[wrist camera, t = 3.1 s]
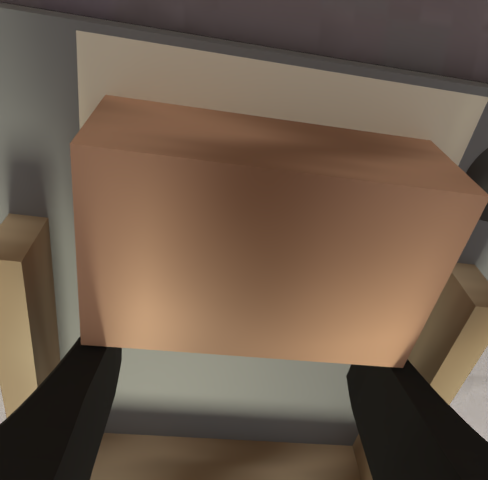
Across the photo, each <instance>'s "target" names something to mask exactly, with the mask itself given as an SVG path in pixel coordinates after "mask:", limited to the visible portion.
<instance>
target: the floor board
mask: <svg viewBox="0 0 488 480" xmlns="http://www.w3.org/2000/svg"><path fill="white" fill-rule="evenodd" d="M105 95H111V96H118V97H125V98H132V99H139V100H147V101H154V102H161V103H168V104H175V105H182V106H189V107H196V108H203V109H211V110H218V111H225V112H232V113H239V114H246V115H253V116H260V117H267V118H275V119H282V120H289V121H296V122H303V123H310V124H317V125H324V126H332V127H339V128H346V129H353V130H360V131H367V132H374V133H381V134H388V135H396V136H403V137H410V138H417V139H424V140H431V141H432V142H433V143H434V144H435V145H436V146H437V147H438V148H439V149H440V150H442V151H443V152H444V153H445V154H446V155H447V156H448V157H449V158H450V159H451V160H452V161H453V162H454V163H455V164H456V165H457V166H459V167H460V168H461V169H462V170H463V171H464V172H465V173H466V174H467V175H468V176H469V177H470V178H471V179H472V180H473V181H474V182H476V183H477V184H478V185H479V186H480V187H481V188H482V189H483V190H484V191H485V192H486V193H487V194H488V83H482V82H476V81H470V80H464V79H458V78H452V77H446V76H440V75H434V74H428V73H422V72H416V71H410V70H404V69H398V68H392V67H386V66H380V65H374V64H368V63H362V62H356V61H350V60H344V59H338V58H332V57H326V56H320V55H314V54H308V53H302V52H296V51H290V50H284V49H278V48H272V47H266V46H260V45H254V44H248V43H242V42H236V41H230V40H224V39H218V38H212V37H206V36H200V35H194V34H188V33H182V32H176V31H170V30H164V29H158V28H152V27H146V26H140V25H134V24H128V23H122V22H116V21H110V20H104V19H98V18H92V17H86V16H80V15H74V14H68V13H62V12H56V11H50V10H44V9H38V8H32V7H26V6H20V5H14V4H8V3H2V2H0V225H1V223H2V222H3V221H4V219H5V218H6V217H7V215H8V214H19V215H28V216H37V217H46V218H48V220H49V232H50V244H51V256H52V268H53V280H54V291H55V303H56V315H57V327H58V339H59V351H60V361H61V360H62V359H63V357H64V356H65V355H66V354H67V352H68V351H69V350H70V349H71V347H72V346H73V345H74V344H75V342H76V341H77V339H78V338H79V337H80V319H79V301H78V283H77V265H76V247H75V229H74V211H73V193H72V174H71V156H70V143H71V141H72V140H73V139H74V137H75V136H76V134H77V133H78V132H79V130H80V129H81V128H82V126H83V125H84V123H85V122H86V121H87V119H88V118H89V116H90V115H91V114H92V112H93V111H94V110H95V108H96V107H97V105H98V104H99V103H100V101H101V100H102V99H103V97H104V96H105ZM457 263H464V264H473V265H476V267H477V268H478V269H479V271H480V272H481V273H482V274H483V276H484V277H485V278H486V279H487V281H488V203H487V204H486V206H485V208H484V210H483V212H482V214H481V216H480V218H479V220H478V222H477V224H476V226H475V228H474V230H473V232H472V234H471V236H470V238H469V240H468V242H467V244H466V246H465V247H464V249H463V251H462V253H461V255H460V257H459V259H458V261H457ZM350 366H351V364H340V363H326V362H312V361H299V360H285V359H271V358H257V357H243V356H229V355H216V354H202V353H188V352H174V351H160V350H146V349H133V348H122V361H121V367H120V372H119V378H118V383H117V388H116V393H115V397H114V401H113V404H112V407H111V411H110V414H109V417H108V421H107V424H106V427H105V431H104V433H116V434H135V435H154V436H173V437H192V438H211V439H231V440H250V441H269V442H288V443H307V444H326V445H345V446H353V444H354V442H355V440H356V438H357V436H358V434H359V433H358V429H357V426H356V422H355V419H354V416H353V412H352V408H351V403H350V397H349V391H348V385H347V378H346V375H347V373H348V371H349V368H350Z"/></svg>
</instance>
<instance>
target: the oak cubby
mask: <svg viewBox="0 0 488 480" xmlns="http://www.w3.org/2000/svg"><path fill="white" fill-rule="evenodd" d="M487 345H488V281H487V279H486V278H485V277H484V276H483V274H482V273H481V272H480V271H479V269H478V268H477V267H476V265H473V264H464V263H456V265H455V267H454V269H453V271H452V273H451V275H450V277H449V279H448V281H447V283H446V285H445V287H444V289H443V291H442V292H441V294H440V296H439V298H438V300H437V302H436V304H435V306H434V308H433V310H432V312H431V314H430V316H429V318H428V320H427V322H426V324H425V326H424V328H423V330H422V332H421V334H420V335H419V337H418V339H417V341H416V343H415V345H414V347H413V349H412V351H411V353H410V355H409V357H408V360H409V361H410V363H411V364H412V365H413V366H414V367H415V368H416V369H417V371H418V372H419V373H420V374H421V375H422V376H423V377H424V379H425V380H426V381H427V382H428V383H429V384H430V385H431V386H432V388H433V389H434V390H435V391H436V392H437V393H438V394H439V395H440V396H441V397H442V398H443V399H444V400H445V401H446V403H447V404H448V405H450V403H451V401H452V400H453V398H454V397H455V395H456V394H457V392H458V391H459V389H460V387H461V386H462V384H463V383H464V381H465V380H466V378H467V377H468V375H469V373H470V372H471V370H472V369H473V367H474V366H475V364H476V363H477V361H478V359H479V358H480V356H481V355H482V353H483V352H484V350H485V349H486V347H487ZM59 362H60V351H59V339H58V327H57V315H56V303H55V291H54V280H53V268H52V256H51V244H50V232H49V220H48V218H46V217H37V216H28V215H19V214H8V215H7V217H6V218H5V219H4V221H3V222H2V223H1V225H0V386H1V391H2V396H3V401H4V406H5V412H6V417H7V418H8V417H9V416H10V415H11V414H12V413H13V412H14V411H15V410H16V409H17V408H18V407H19V406H20V405H21V404H22V403H23V402H24V401H25V400H26V399H27V398H28V397H29V396H30V395H31V394H32V393H33V392H34V391H35V390H36V389H37V387H38V386H39V385H40V384H41V383H42V382H43V381H44V380H45V379H46V377H47V376H48V375H49V374H50V373H51V372H52V371H53V370H54V368H55V367H56V366H57V365H58V364H59ZM90 480H373V479H372V475H371V472H370V469H369V466H368V462H367V459H366V456H365V452H364V449H363V446H362V443H361V439H360V436H359V434H358V436H357V438H356V440H355V442H354V444H353V446H345V445H326V444H307V443H288V442H269V441H250V440H231V439H211V438H192V437H173V436H154V435H135V434H116V433H104V434H103V437H102V441H101V444H100V447H99V450H98V454H97V457H96V460H95V464H94V467H93V470H92V474H91V478H90Z"/></svg>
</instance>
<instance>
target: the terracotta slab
mask: <svg viewBox="0 0 488 480" xmlns="http://www.w3.org/2000/svg"><path fill="white" fill-rule="evenodd" d="M70 156H71V174H72V193H73V211H74V229H75V247H76V265H77V283H78V301H79V319H80V338H81V345H91V346H105V347H119V348H133V349H146V350H160V351H174V352H188V353H202V354H216V355H229V356H243V357H257V358H271V359H285V360H299V361H312V362H326V363H340V364H354V365H368V366H382V367H395V368H403V367H404V365H405V363H406V361H407V359H408V357H409V355H410V353H411V351H412V349H413V347H414V345H415V343H416V341H417V339H418V337H419V335H420V334H421V332H422V330H423V328H424V326H425V324H426V322H427V320H428V318H429V316H430V314H431V312H432V310H433V308H434V306H435V304H436V302H437V300H438V298H439V296H440V294H441V292H442V291H443V289H444V287H445V285H446V283H447V281H448V279H449V277H450V275H451V273H452V271H453V269H454V267H455V265H456V263H457V261H458V259H459V257H460V255H461V253H462V251H463V249H464V247H465V246H466V244H467V242H468V240H469V238H470V236H471V234H472V232H473V230H474V228H475V226H476V224H477V222H478V220H479V218H480V216H481V214H482V212H483V210H484V208H485V206H486V204H487V203H488V194H487V193H486V192H485V191H484V190H483V189H482V188H481V187H480V186H479V185H478V184H477V183H476V182H474V181H473V180H472V179H471V178H470V177H469V176H468V175H467V174H466V173H465V172H464V171H463V170H462V169H461V168H460V167H459V166H457V165H456V164H455V163H454V162H453V161H452V160H451V159H450V158H449V157H448V156H447V155H446V154H445V153H444V152H443V151H442V150H440V149H439V148H438V147H437V146H436V145H435V144H434V143H433V142H432V141H431V140H424V139H417V138H410V137H403V136H396V135H388V134H381V133H374V132H367V131H360V130H353V129H346V128H339V127H332V126H324V125H317V124H310V123H303V122H296V121H289V120H282V119H275V118H267V117H260V116H253V115H246V114H239V113H232V112H225V111H218V110H211V109H203V108H196V107H189V106H182V105H175V104H168V103H161V102H154V101H147V100H139V99H132V98H125V97H118V96H111V95H105V96H104V97H103V99H102V100H101V101H100V103H99V104H98V105H97V107H96V108H95V110H94V111H93V112H92V114H91V115H90V116H89V118H88V119H87V121H86V122H85V123H84V125H83V126H82V128H81V129H80V130H79V132H78V133H77V134H76V136H75V137H74V139H73V140H72V141H71V143H70Z"/></svg>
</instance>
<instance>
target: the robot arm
mask: <svg viewBox="0 0 488 480" xmlns="http://www.w3.org/2000/svg"><path fill="white" fill-rule="evenodd" d="M121 361H122V348H119V347H105V346H91V345H81V338H80V337H79V338H78V339H77V341H76V342H75V344H74V345H73V346H72V347H71V349H70V350H69V351H68V352H67V354H66V355H65V356H64V357H63V359H62V360H61V361H60V362H59V364H58V365H57V366H56V367H55V368H54V370H53V371H52V372H51V373H50V374H49V375H48V376H47V377H46V379H45V380H44V381H43V382H42V383H41V384H40V385H39V386H38V387H37V389H36V390H35V391H34V392H33V393H32V394H31V395H30V396H29V397H28V398H27V399H26V400H25V401H24V402H23V403H22V404H21V405H20V406H19V407H18V408H17V409H16V410H15V411H14V412H13V413H12V414H11V415H10V416H9V417H8V418H7V419H6V420H5V421H3V422H2V423H1V424H0V480H90V478H91V474H92V470H93V467H94V464H95V460H96V457H97V454H98V450H99V447H100V444H101V441H102V437H103V434H104V431H105V427H106V424H107V421H108V417H109V414H110V411H111V407H112V404H113V401H114V397H115V393H116V388H117V383H118V378H119V372H120V367H121ZM346 378H347V385H348V391H349V397H350V403H351V408H352V412H353V416H354V419H355V422H356V426H357V429H358V433H359V436H360V439H361V443H362V446H363V449H364V452H365V456H366V459H367V462H368V466H369V469H370V472H371V475H372V479H373V480H488V442H487V441H486V440H485V439H484V438H483V437H481V436H480V435H479V434H478V433H477V432H476V431H475V430H474V429H473V428H472V427H471V426H469V425H468V424H467V423H466V422H465V421H464V420H463V419H462V418H461V417H460V416H459V415H458V414H457V413H456V412H455V411H454V410H453V409H452V408H451V407H450V406H449V405H448V404H447V403H446V401H445V400H444V399H443V398H442V397H441V396H440V395H439V394H438V393H437V392H436V391H435V390H434V389H433V388H432V386H431V385H430V384H429V383H428V382H427V381H426V380H425V379H424V377H423V376H422V375H421V374H420V373H419V372H418V371H417V369H416V368H415V367H414V366H413V365H412V364H411V363H410V361H409V360H408V359H407V361H406V363H405V365H404V367H403V368H395V367H382V366H368V365H354V364H351V366H350V368H349V371H348V373H347V375H346Z"/></svg>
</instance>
